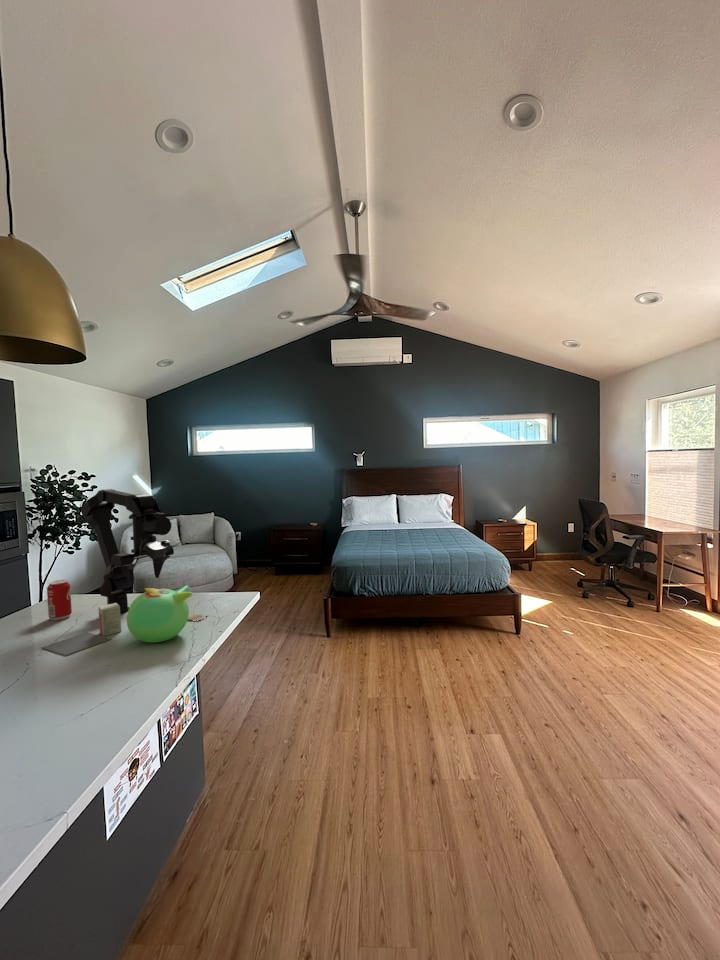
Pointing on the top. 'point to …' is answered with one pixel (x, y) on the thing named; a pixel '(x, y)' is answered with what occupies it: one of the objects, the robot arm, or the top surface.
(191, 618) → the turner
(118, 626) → the small box
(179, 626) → the toy bird
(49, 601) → the beverage can
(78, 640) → the mat
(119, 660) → the top surface
